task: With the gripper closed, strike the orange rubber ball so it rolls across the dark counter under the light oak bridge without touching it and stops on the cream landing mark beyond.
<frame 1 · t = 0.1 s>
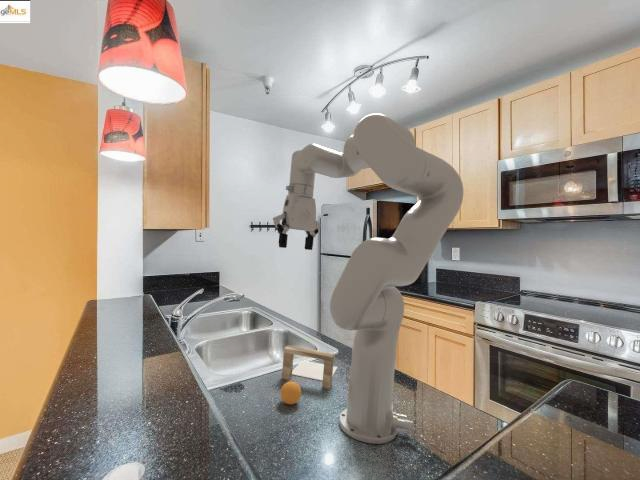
hand: (295, 248, 93), 37 cm above the table, tool pointing down, fingers open, 9 cm apart
bridge: (306, 381, 87), on the table
ball: (290, 392, 75), on the table
landing mark: (314, 370, 95), on the table
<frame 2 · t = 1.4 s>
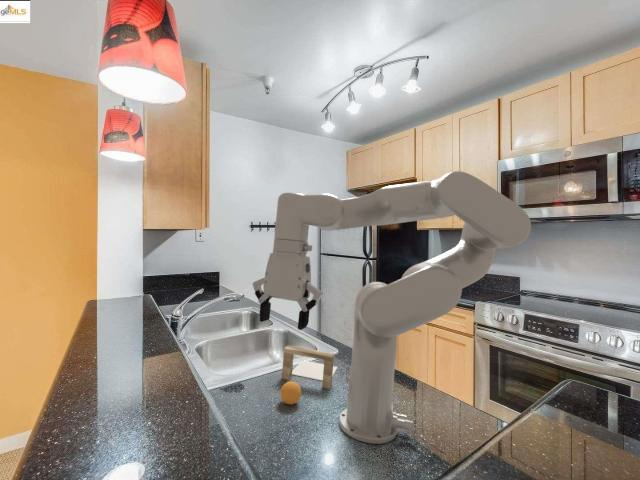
hand: (282, 324, 69), 20 cm above the table, tool pointing down, fingers open, 9 cm apart
nothing on the table moved.
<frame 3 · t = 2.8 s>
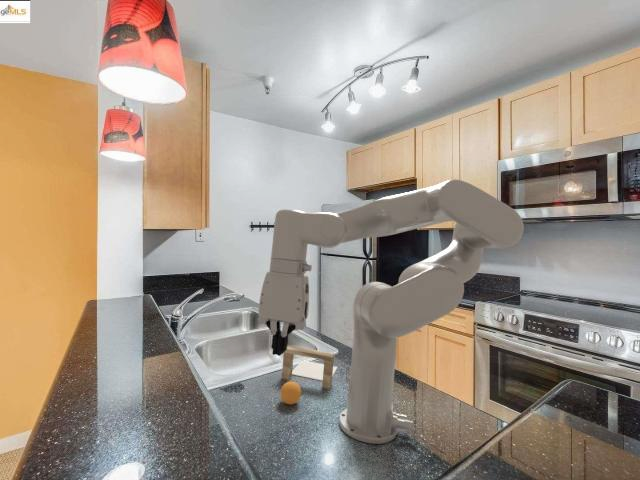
hand: (278, 353, 66), 15 cm above the table, tool pointing down, fingers closed
nothing on the table moved.
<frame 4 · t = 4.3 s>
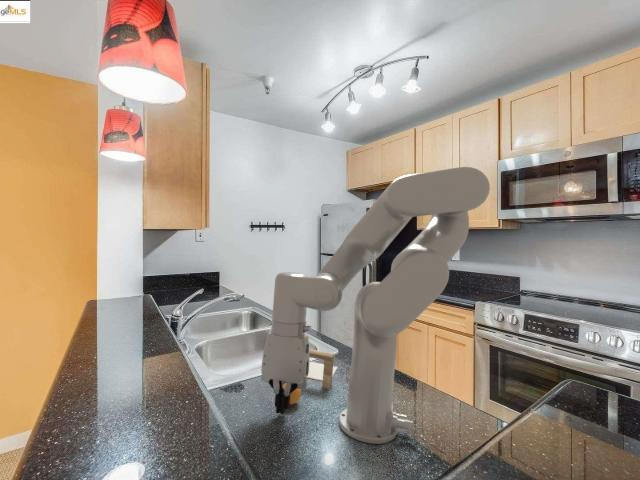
hand: (281, 410, 68), 1 cm above the table, tool pointing down, fingers closed
nothing on the table moved.
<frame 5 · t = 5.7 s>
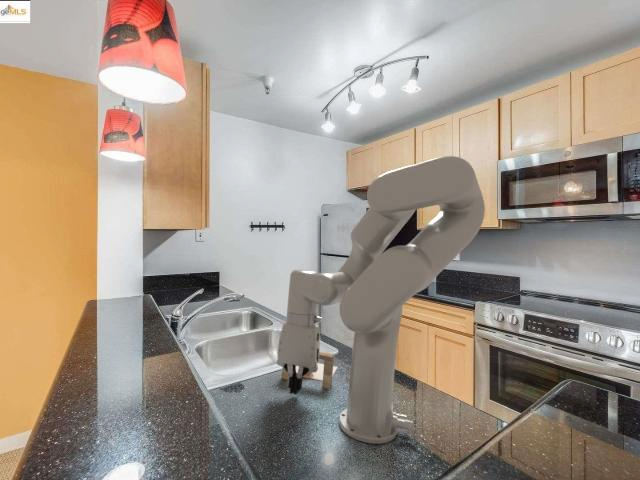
hand: (294, 391, 77), 2 cm above the table, tool pointing down, fingers closed
ball: (306, 365, 92), on the table
everything else where it was.
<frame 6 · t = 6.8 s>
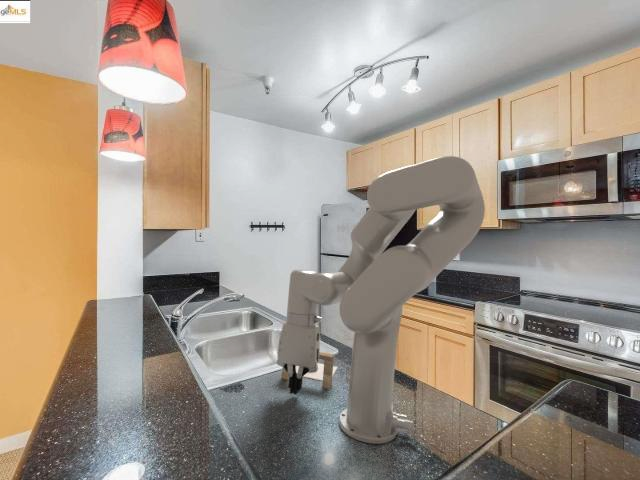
hand: (294, 391, 77), 2 cm above the table, tool pointing down, fingers closed
ball: (309, 360, 97), on the table
everything else where it was.
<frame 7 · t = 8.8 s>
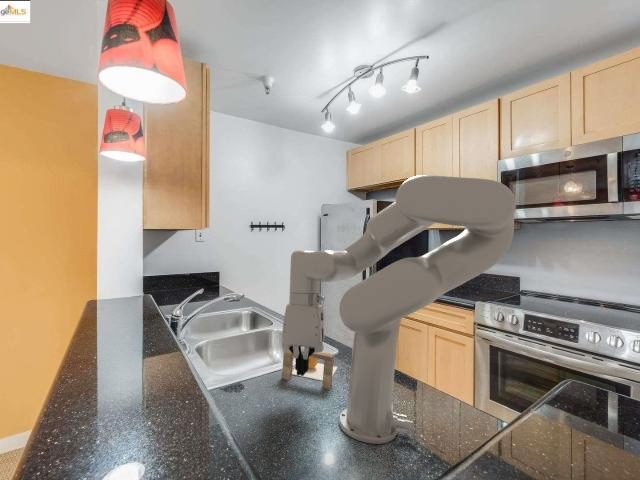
hand: (301, 373, 77), 6 cm above the table, tool pointing down, fingers closed
nothing on the table moved.
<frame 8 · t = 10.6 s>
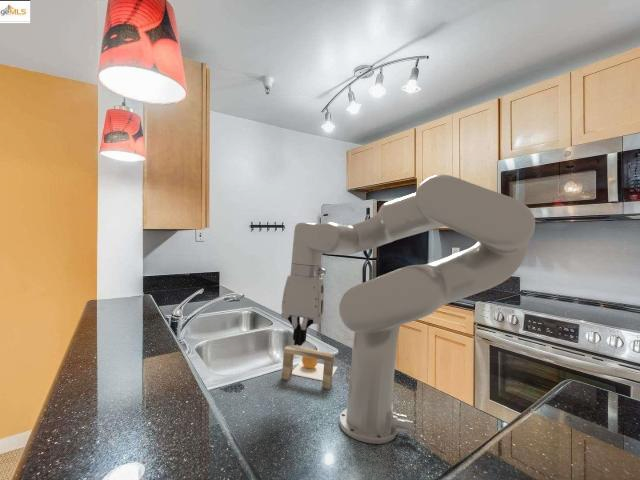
hand: (299, 343, 78), 13 cm above the table, tool pointing down, fingers closed
nothing on the table moved.
at the end: ball 2.4 cm from the landing mark (horizontally); ball never touched bridge; ball at rest at the end (0.0 cm/s) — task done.
